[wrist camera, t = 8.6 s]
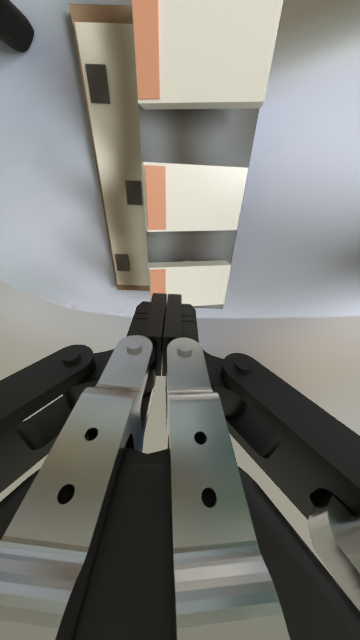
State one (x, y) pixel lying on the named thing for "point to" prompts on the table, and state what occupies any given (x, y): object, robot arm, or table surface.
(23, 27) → the mobile phone
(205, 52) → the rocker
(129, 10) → the switch box
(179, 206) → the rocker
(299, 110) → the table surface
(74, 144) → the table surface
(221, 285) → the cream box
